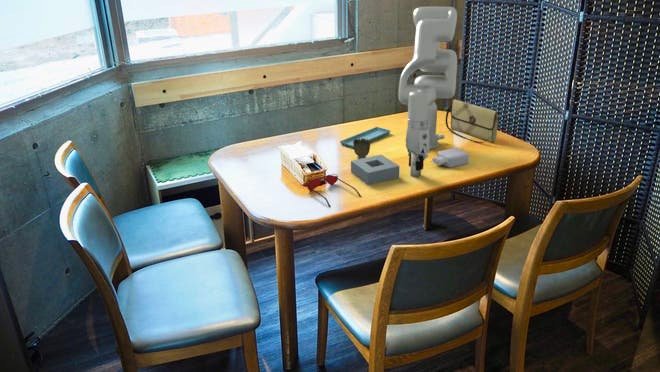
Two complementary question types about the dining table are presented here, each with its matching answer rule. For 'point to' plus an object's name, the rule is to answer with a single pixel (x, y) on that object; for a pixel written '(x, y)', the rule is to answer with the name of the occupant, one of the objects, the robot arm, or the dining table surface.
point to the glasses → (329, 180)
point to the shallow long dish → (366, 136)
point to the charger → (451, 157)
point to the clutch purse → (473, 121)
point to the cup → (361, 147)
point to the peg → (414, 165)
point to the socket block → (375, 169)
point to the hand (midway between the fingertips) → (415, 167)
